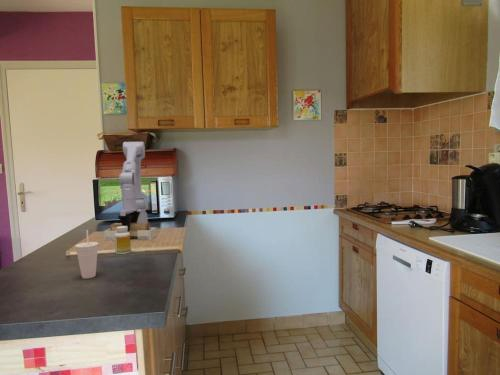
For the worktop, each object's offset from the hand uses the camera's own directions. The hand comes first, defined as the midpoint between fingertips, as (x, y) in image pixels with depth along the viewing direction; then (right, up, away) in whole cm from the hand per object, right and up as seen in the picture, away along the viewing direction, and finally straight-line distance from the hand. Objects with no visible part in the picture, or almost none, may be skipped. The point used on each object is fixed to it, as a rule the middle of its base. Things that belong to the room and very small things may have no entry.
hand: (130, 229), depth 154 cm
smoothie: (+5, -8, -51) cm, 52 cm away
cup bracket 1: (-7, -4, +1) cm, 8 cm away
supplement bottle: (+6, -6, -24) cm, 26 cm away
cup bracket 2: (+7, -4, 0) cm, 8 cm away
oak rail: (0, -2, 0) cm, 2 cm away
